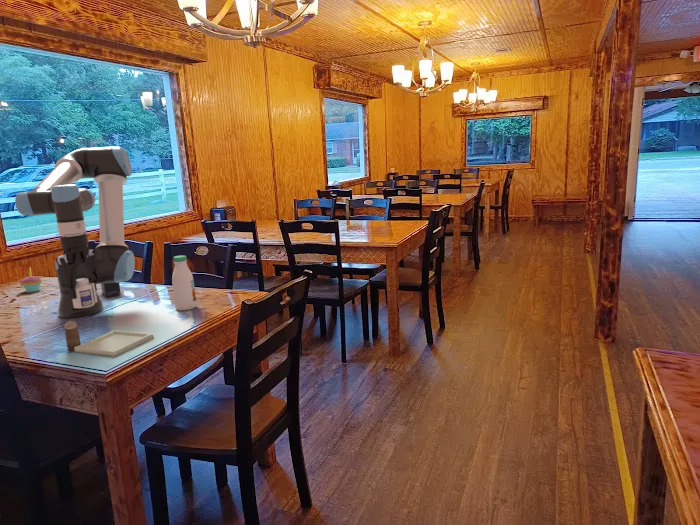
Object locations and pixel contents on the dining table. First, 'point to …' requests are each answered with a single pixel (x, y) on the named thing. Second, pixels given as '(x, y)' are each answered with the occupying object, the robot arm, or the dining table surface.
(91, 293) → the pill bottle
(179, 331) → the dining table surface
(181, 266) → the milk bottle
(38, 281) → the cupcake
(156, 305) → the dining table surface
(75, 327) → the pepper shaker
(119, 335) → the tray
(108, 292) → the small box
